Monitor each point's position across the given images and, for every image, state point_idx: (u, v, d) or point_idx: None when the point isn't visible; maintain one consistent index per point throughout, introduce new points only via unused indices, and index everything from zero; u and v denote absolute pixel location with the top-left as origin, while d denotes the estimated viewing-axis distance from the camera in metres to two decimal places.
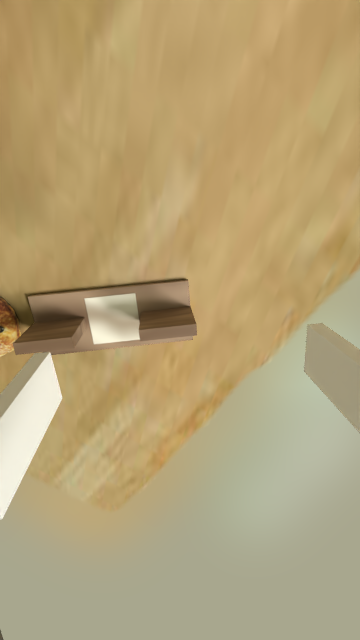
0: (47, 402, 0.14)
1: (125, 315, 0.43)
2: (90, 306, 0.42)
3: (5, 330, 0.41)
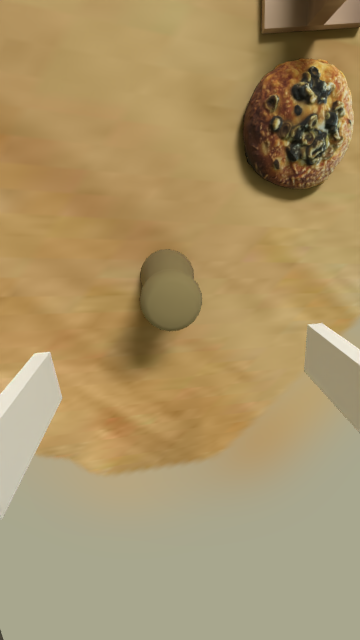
0: (47, 402, 0.14)
1: None
2: None
3: (314, 69, 0.26)
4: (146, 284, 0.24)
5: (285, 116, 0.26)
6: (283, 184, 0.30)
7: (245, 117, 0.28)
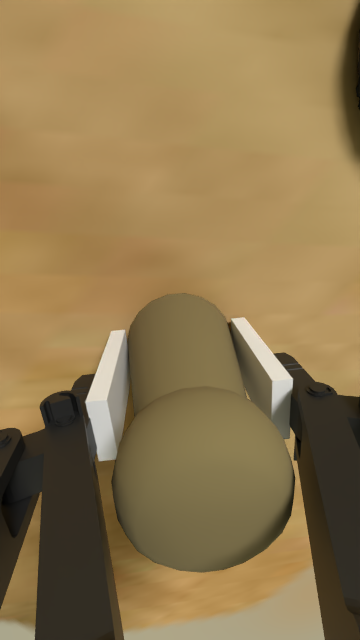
0: (127, 372, 0.16)
1: None
2: None
3: None
4: (129, 451, 0.08)
5: None
6: None
7: None
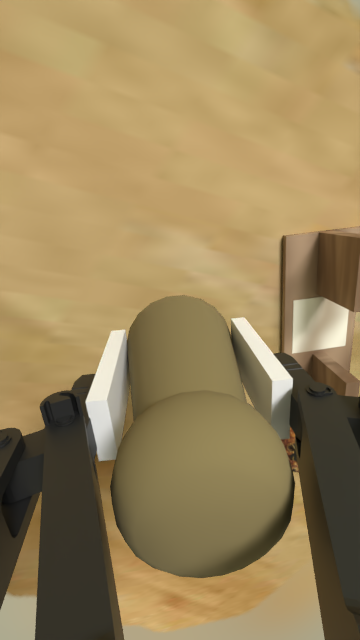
0: (127, 372, 0.16)
1: (317, 311, 0.36)
2: (301, 347, 0.38)
3: None
4: (128, 456, 0.08)
5: None
6: (297, 471, 0.45)
7: None
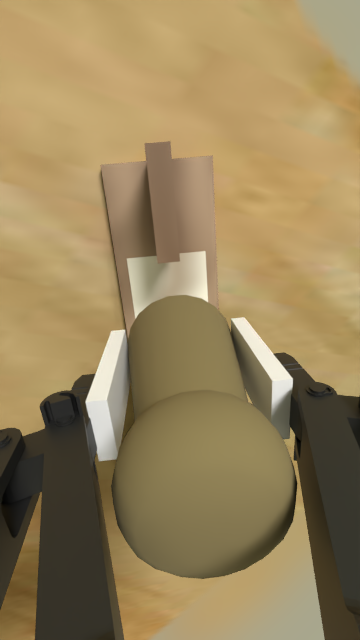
0: (127, 372, 0.16)
1: (163, 276, 0.27)
2: None
3: None
4: (129, 456, 0.08)
5: None
6: None
7: None
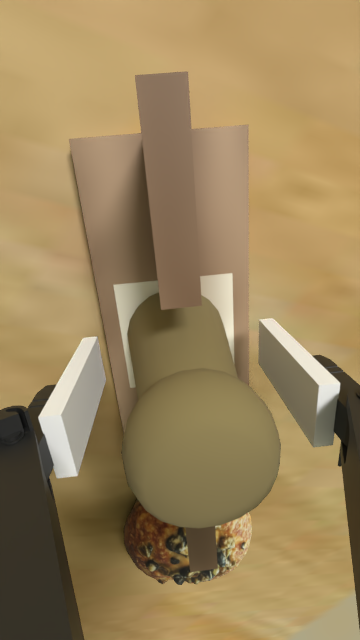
0: (97, 381, 0.15)
1: None
2: None
3: None
4: (137, 424, 0.09)
5: (162, 562, 0.23)
6: None
7: (124, 533, 0.24)
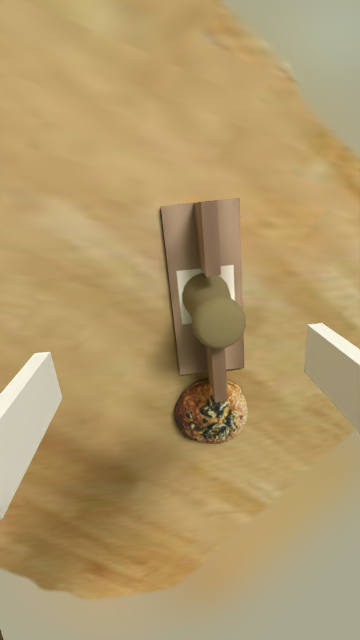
0: (47, 402, 0.14)
1: None
2: (191, 319, 0.39)
3: None
4: (198, 309, 0.28)
5: (197, 422, 0.42)
6: None
7: (175, 411, 0.44)
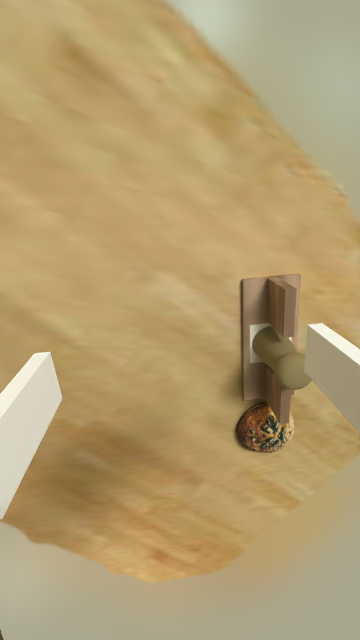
0: (47, 402, 0.14)
1: None
2: (257, 359, 0.51)
3: (272, 414, 0.54)
4: (282, 363, 0.40)
5: (258, 436, 0.54)
6: None
7: (238, 427, 0.56)
